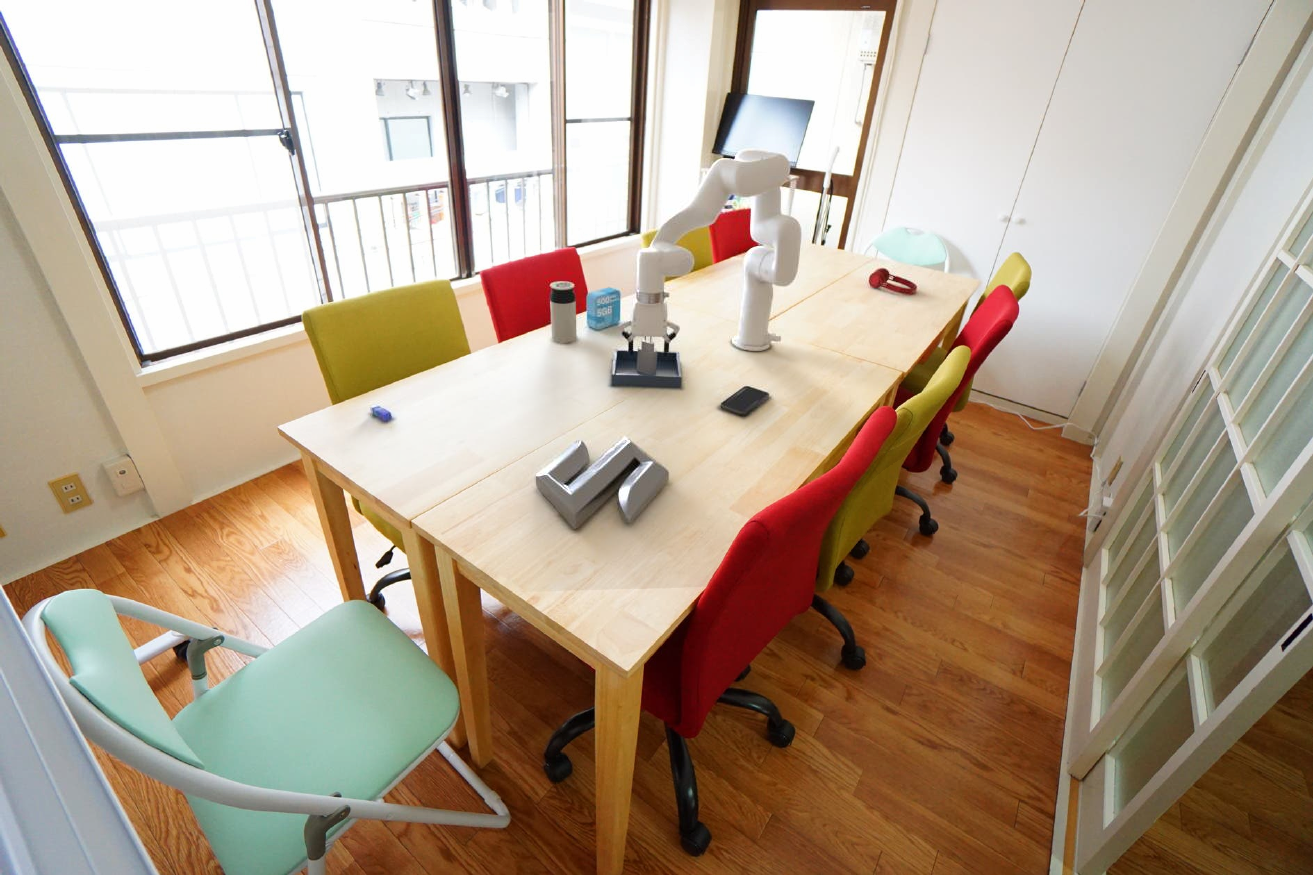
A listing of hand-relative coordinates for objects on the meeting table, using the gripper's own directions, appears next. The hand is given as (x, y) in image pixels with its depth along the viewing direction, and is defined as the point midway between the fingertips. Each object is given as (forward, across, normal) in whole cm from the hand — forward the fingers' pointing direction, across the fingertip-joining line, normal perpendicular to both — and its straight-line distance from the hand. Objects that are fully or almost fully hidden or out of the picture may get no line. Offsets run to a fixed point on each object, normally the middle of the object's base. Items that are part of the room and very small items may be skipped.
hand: (648, 353), depth 167 cm
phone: (+7, -26, +16) cm, 32 cm away
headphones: (+9, -108, -97) cm, 146 cm away
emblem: (+6, +10, +56) cm, 57 cm away
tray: (+6, 0, 0) cm, 6 cm away
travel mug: (+6, +28, -24) cm, 37 cm away
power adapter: (+6, 0, 0) cm, 6 cm away
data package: (+7, +16, -38) cm, 41 cm away
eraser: (+5, +66, +30) cm, 72 cm away
